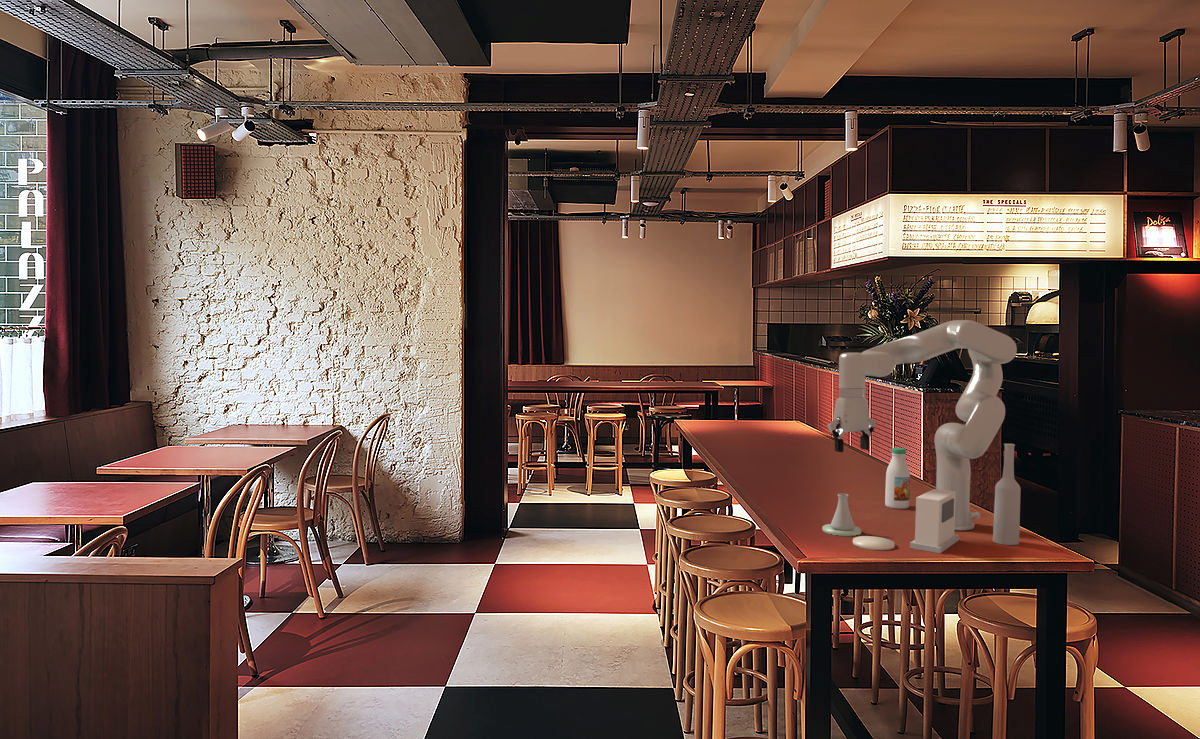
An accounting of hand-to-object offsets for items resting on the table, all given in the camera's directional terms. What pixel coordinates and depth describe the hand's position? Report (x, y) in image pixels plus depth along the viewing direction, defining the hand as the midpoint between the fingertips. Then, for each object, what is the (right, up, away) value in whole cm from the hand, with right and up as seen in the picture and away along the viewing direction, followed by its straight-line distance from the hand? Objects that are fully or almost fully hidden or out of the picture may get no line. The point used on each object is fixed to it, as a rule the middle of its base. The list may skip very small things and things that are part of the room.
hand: (852, 450), depth 241 cm
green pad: (-4, -24, -4) cm, 24 cm away
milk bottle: (+25, -23, +31) cm, 46 cm away
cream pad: (0, -24, -18) cm, 30 cm away
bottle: (+39, -25, -14) cm, 48 cm away
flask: (-4, -23, -4) cm, 24 cm away
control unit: (+18, -25, -17) cm, 35 cm away
